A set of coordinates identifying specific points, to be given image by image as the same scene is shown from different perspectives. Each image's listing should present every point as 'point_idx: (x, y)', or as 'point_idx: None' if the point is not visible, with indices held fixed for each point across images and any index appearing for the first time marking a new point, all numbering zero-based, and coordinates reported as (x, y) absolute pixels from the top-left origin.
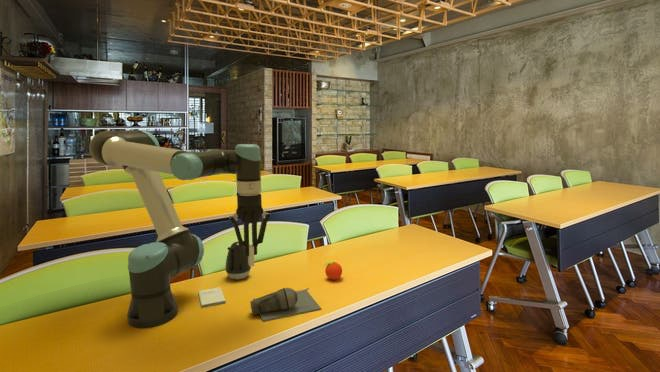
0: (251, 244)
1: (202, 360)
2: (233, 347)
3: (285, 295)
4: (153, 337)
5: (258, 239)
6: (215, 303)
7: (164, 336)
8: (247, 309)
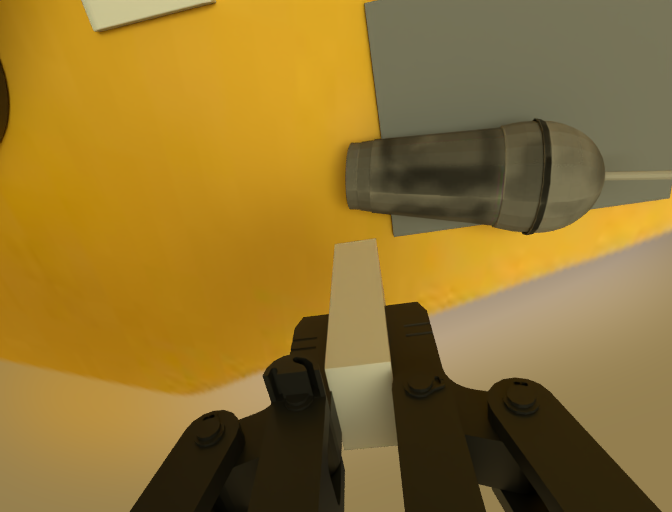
0: (377, 377)
1: (213, 384)
2: None
3: (531, 231)
4: (9, 244)
5: (497, 468)
6: (161, 15)
7: (45, 247)
8: (333, 109)
